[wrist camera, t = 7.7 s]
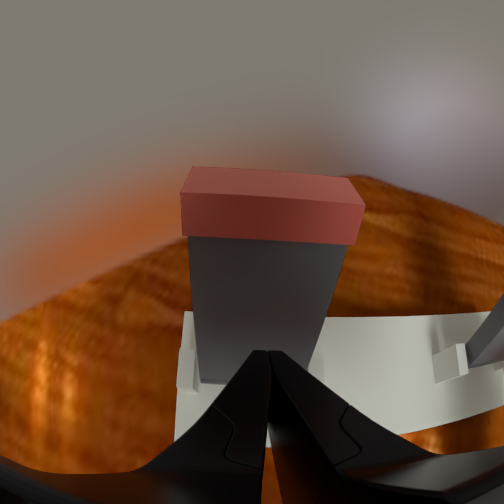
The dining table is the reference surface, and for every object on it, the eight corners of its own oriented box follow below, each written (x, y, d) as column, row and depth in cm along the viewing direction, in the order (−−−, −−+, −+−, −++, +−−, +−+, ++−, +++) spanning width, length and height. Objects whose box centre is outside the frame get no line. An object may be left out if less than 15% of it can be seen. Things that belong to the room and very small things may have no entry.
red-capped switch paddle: (300, 396, 15) (365, 205, 9) (198, 393, 15) (180, 192, 8) (297, 365, 16) (347, 177, 10) (201, 362, 16) (192, 166, 10)
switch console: (490, 408, 17) (531, 396, 13) (179, 440, 16) (164, 444, 12) (478, 320, 22) (513, 297, 17) (188, 321, 21) (178, 292, 16)
